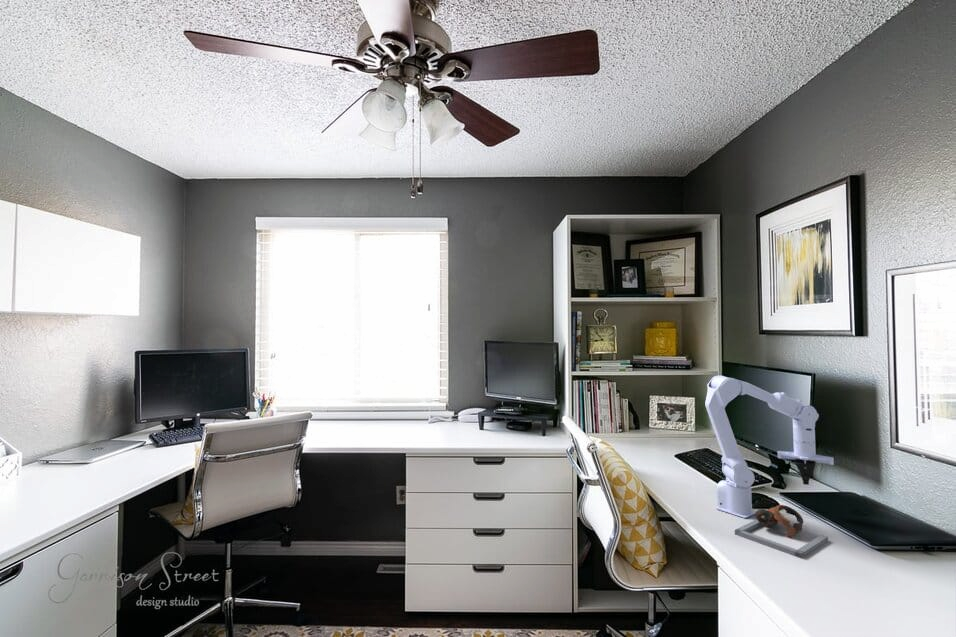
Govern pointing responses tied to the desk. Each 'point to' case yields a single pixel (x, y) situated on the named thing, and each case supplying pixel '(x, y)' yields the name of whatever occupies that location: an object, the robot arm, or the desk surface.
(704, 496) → the desk surface
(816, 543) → the frame
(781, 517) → the orange curved piece
